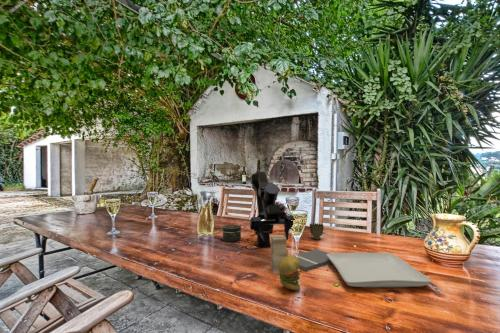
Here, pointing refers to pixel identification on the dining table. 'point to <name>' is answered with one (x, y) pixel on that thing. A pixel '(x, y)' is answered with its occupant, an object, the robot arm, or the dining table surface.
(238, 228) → the jar
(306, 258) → the charcoal board
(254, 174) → the robot arm
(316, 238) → the cup
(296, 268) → the hamburger
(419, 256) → the dining table surface
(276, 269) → the birch post
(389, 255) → the square plate
